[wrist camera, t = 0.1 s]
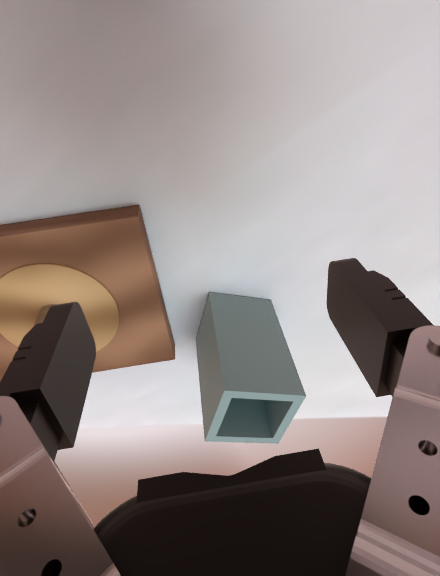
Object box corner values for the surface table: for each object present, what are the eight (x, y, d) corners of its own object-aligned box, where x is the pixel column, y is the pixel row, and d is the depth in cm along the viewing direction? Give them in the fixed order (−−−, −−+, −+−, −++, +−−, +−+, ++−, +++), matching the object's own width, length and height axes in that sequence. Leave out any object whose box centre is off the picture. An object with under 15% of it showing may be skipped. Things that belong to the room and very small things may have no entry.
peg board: (-90, 238, 27) (-234, 364, 17) (139, 204, 28) (124, 308, 18) (3, 371, 36) (-57, 503, 26) (174, 344, 37) (177, 464, 27)
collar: (209, 291, 33) (224, 390, 25) (270, 299, 35) (306, 395, 26) (195, 339, 37) (204, 441, 28) (252, 344, 38) (278, 443, 29)
